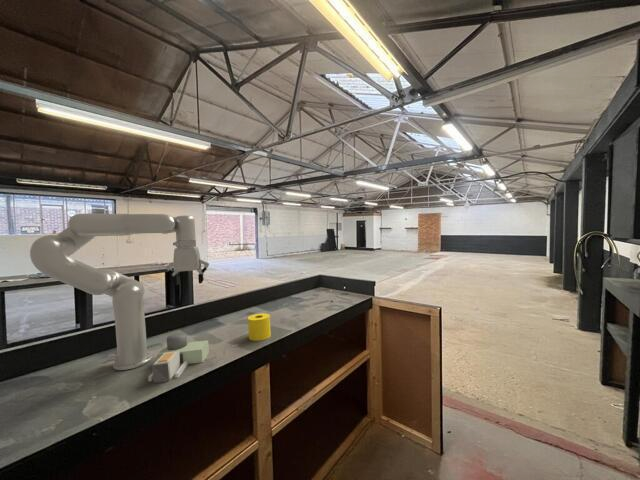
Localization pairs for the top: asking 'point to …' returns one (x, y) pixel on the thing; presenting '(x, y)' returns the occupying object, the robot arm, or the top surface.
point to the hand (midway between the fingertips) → (189, 283)
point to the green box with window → (184, 351)
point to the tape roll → (259, 327)
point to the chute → (166, 367)
